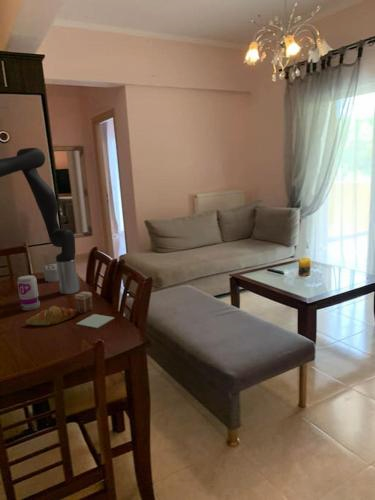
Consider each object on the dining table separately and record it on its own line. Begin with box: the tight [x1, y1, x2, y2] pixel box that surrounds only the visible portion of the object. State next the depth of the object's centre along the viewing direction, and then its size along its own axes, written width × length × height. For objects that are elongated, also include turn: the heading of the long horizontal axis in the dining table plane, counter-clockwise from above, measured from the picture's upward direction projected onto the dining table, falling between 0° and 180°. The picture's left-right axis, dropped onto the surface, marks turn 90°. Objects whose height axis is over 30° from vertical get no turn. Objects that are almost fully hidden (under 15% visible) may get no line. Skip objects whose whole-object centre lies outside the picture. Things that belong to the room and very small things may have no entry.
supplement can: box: [16, 274, 41, 311], centre depth 174 cm, size 8×8×15 cm
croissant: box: [25, 305, 80, 326], centre depth 157 cm, size 21×10×8 cm, turn 114°
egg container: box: [43, 263, 59, 283], centre depth 223 cm, size 10×13×9 cm
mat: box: [75, 313, 115, 329], centre depth 155 cm, size 11×11×1 cm
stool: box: [74, 291, 93, 314], centre depth 167 cm, size 5×5×8 cm
